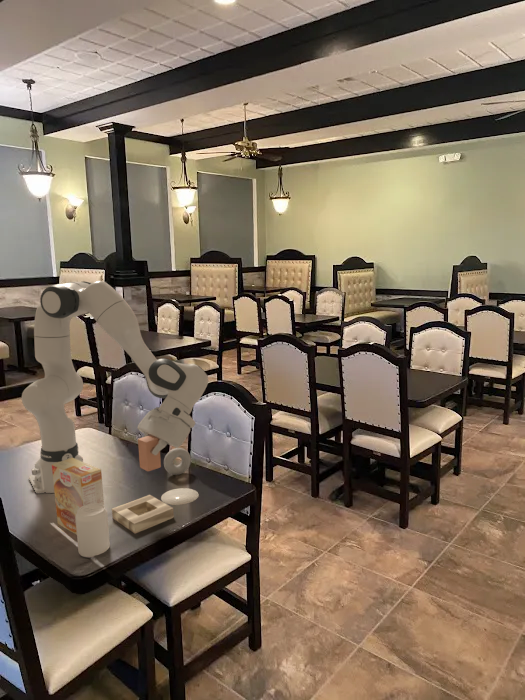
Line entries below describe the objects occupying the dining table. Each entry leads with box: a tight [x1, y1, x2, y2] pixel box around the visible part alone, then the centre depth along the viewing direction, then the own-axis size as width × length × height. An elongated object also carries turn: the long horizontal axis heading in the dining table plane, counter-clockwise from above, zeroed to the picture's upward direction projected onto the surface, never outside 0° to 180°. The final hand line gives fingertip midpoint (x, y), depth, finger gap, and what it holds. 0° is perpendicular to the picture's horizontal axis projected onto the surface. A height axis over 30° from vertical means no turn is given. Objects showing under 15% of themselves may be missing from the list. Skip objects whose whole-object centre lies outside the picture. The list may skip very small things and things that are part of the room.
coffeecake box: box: [52, 458, 105, 536], centre depth 154 cm, size 15×7×20 cm, turn 51°
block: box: [137, 435, 162, 472], centre depth 160 cm, size 4×4×9 cm
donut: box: [163, 447, 192, 476], centre depth 192 cm, size 10×4×10 cm, turn 117°
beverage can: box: [75, 503, 111, 558], centre depth 143 cm, size 8×8×12 cm
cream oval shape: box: [160, 487, 200, 506], centre depth 173 cm, size 12×12×1 cm
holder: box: [111, 494, 175, 534], centre depth 159 cm, size 13×13×4 cm
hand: (147, 451), depth 159 cm, fingers closed on block, 4 cm apart
